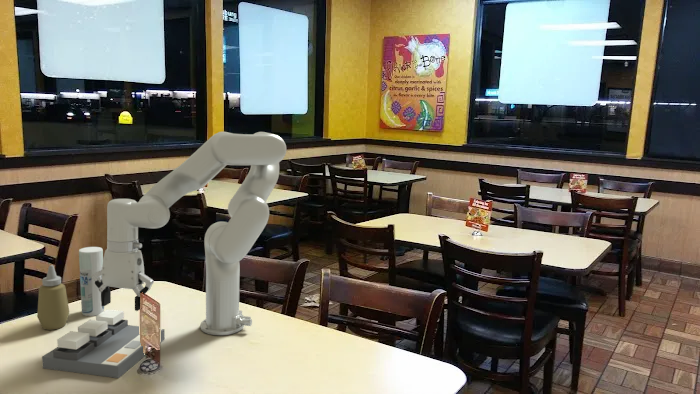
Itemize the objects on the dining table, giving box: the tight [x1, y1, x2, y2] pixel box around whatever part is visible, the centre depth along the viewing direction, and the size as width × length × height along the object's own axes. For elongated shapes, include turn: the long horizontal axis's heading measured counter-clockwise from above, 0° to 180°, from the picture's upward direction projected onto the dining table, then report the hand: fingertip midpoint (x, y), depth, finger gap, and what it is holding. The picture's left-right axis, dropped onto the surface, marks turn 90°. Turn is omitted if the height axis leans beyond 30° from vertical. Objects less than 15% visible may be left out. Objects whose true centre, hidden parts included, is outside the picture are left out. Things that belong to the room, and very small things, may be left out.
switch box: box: [41, 318, 166, 379], centre depth 138 cm, size 20×22×5 cm
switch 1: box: [56, 330, 90, 349], centre depth 131 cm, size 5×5×2 cm
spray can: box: [78, 246, 105, 317], centre depth 162 cm, size 6×6×20 cm
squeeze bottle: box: [36, 264, 70, 331], centre depth 152 cm, size 8×8×18 cm
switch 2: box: [77, 319, 108, 337], centre depth 138 cm, size 5×5×2 cm
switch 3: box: [95, 309, 125, 325], centre depth 146 cm, size 5×5×2 cm
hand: (122, 306), depth 144 cm, fingers open, 9 cm apart
